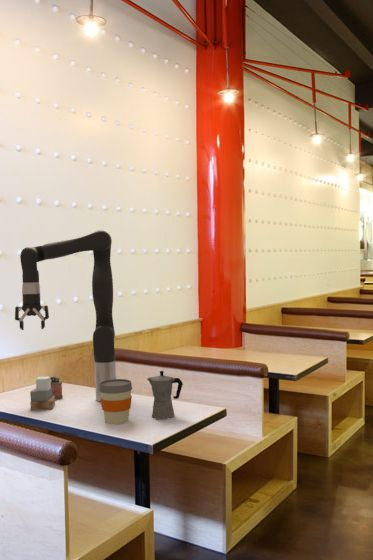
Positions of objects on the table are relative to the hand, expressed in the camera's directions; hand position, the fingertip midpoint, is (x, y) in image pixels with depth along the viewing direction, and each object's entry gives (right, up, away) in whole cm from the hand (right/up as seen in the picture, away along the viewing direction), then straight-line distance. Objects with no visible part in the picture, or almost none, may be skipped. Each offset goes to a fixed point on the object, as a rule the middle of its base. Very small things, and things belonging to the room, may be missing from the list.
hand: (32, 329), depth 247 cm
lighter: (+7, -32, +9) cm, 34 cm away
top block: (+7, -25, -6) cm, 27 cm away
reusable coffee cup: (+41, -33, -31) cm, 61 cm away
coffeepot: (+60, -32, -26) cm, 73 cm away
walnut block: (+6, -33, -6) cm, 34 cm away
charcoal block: (+6, -29, -6) cm, 31 cm away
